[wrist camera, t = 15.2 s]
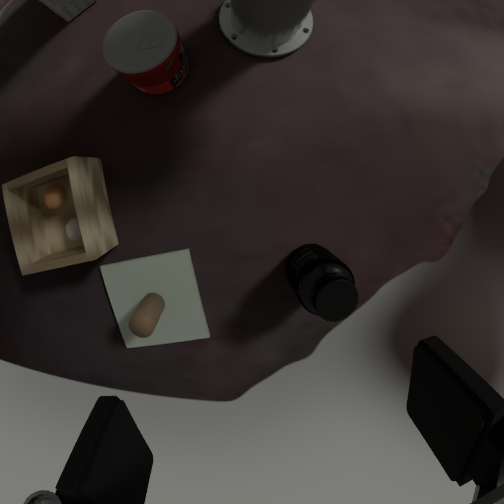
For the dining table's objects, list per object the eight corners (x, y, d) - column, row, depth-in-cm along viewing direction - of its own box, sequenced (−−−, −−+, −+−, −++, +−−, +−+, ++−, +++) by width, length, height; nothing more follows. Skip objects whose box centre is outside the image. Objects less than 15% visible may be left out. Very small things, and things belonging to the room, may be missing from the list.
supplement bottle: (287, 294, 44) (306, 336, 32) (282, 246, 42) (301, 275, 30) (335, 286, 44) (367, 323, 32) (331, 239, 42) (366, 263, 30)
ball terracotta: (49, 188, 37) (37, 189, 34) (67, 182, 37) (55, 183, 34) (53, 210, 38) (42, 213, 35) (71, 204, 38) (60, 207, 35)
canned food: (189, 93, 36) (174, 66, 26) (130, 99, 36) (98, 77, 25) (191, 42, 34) (178, 4, 24) (133, 49, 34) (106, 16, 23)
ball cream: (70, 218, 38) (59, 222, 35) (89, 213, 38) (78, 216, 35) (75, 240, 39) (64, 246, 36) (94, 236, 39) (84, 241, 36)
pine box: (33, 181, 37) (1, 185, 30) (100, 158, 37) (73, 156, 30) (51, 259, 40) (22, 275, 32) (118, 244, 40) (95, 259, 33)
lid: (103, 264, 41) (78, 283, 34) (189, 247, 42) (179, 265, 34) (129, 344, 45) (112, 374, 37) (210, 333, 45) (206, 364, 37)
